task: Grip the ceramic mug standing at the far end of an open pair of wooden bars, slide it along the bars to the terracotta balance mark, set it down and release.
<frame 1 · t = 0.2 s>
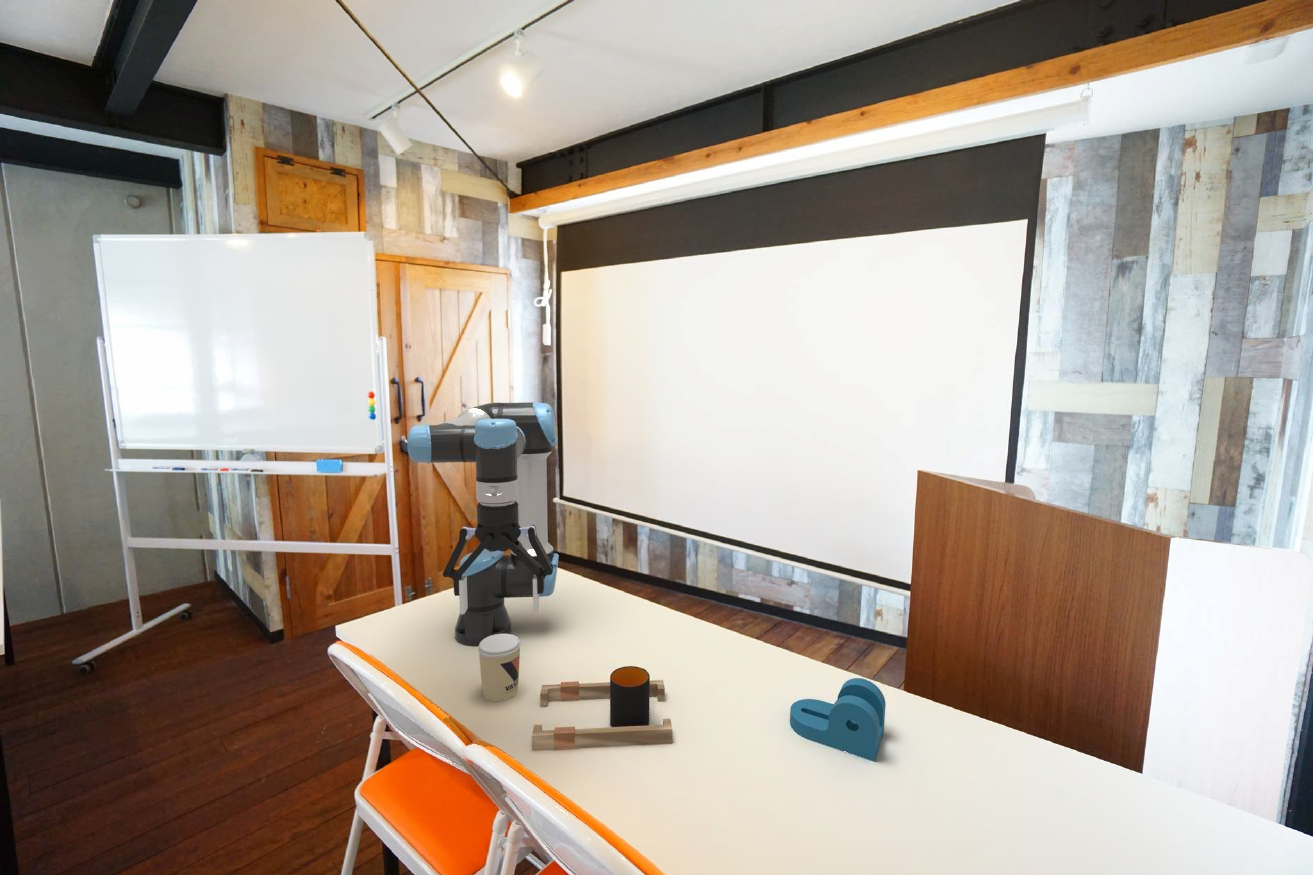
hand: (500, 610, 109), 28 cm above the table, fingers open, 13 cm apart
coffee cup: (500, 692, 131), on the table
camera mount: (833, 733, 118), on the table
pair of wooden bars: (603, 718, 121), on the table
mug: (633, 718, 122), on the table
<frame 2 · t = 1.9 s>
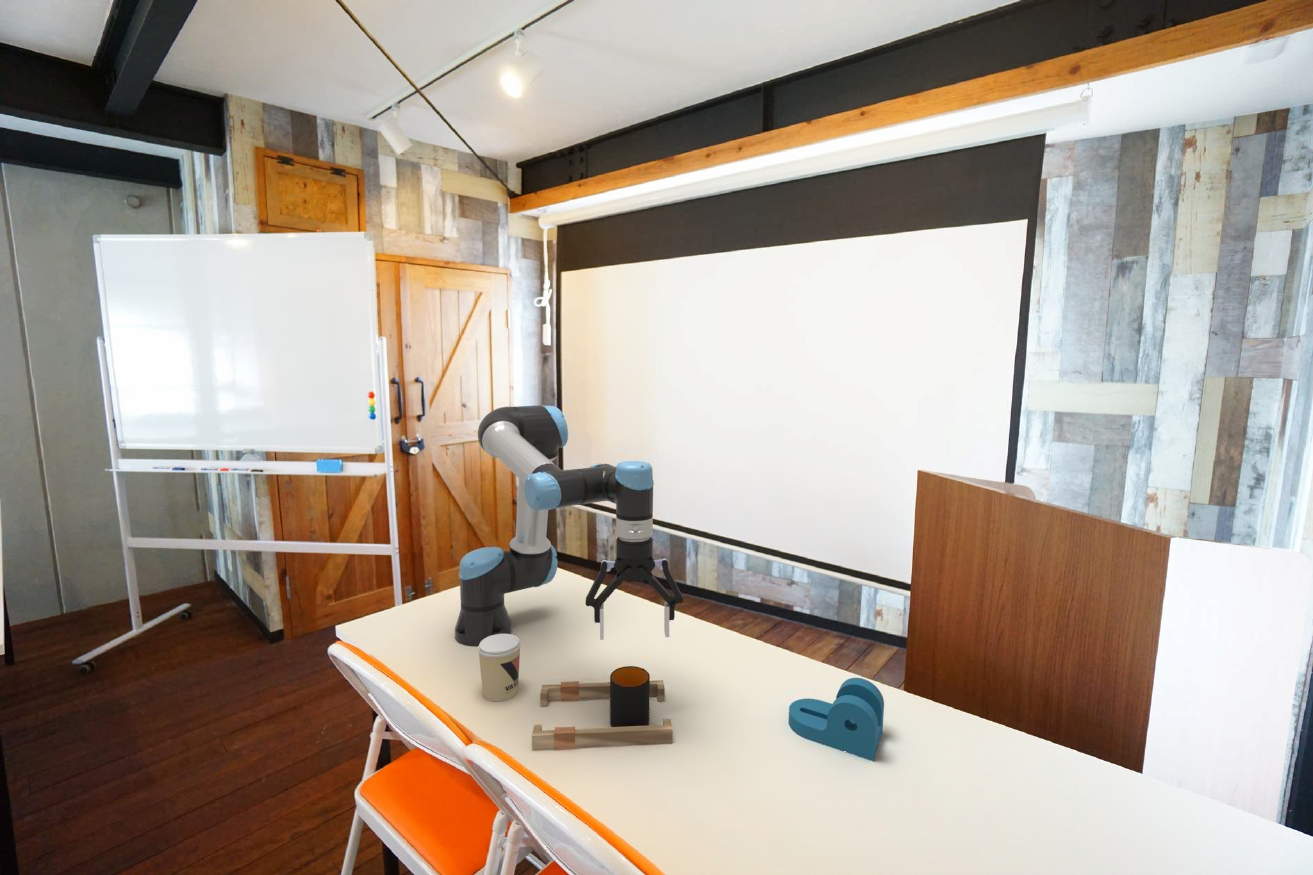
hand: (634, 635, 119), 18 cm above the table, fingers open, 13 cm apart
nothing on the table moved.
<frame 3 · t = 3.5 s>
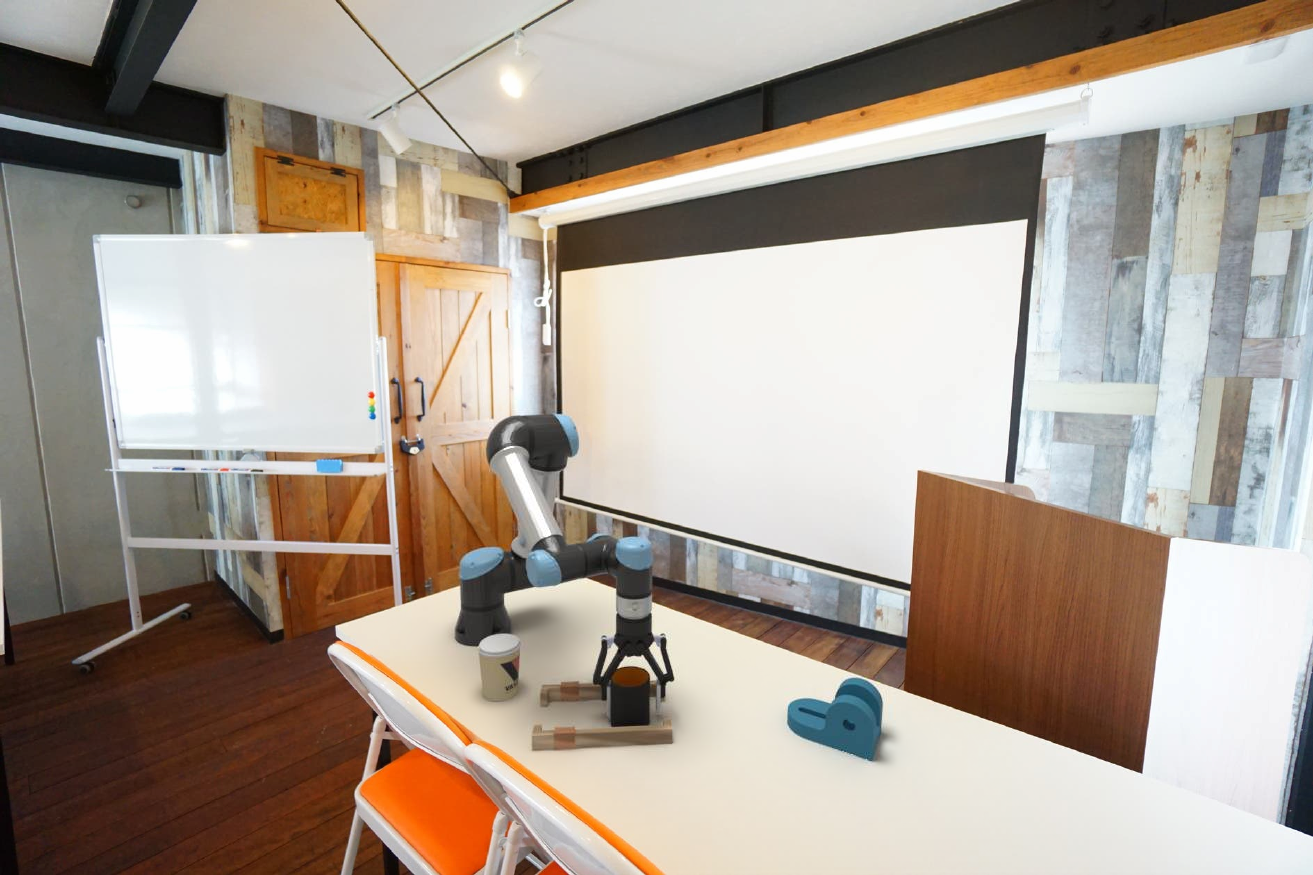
hand: (633, 712, 121), 1 cm above the table, fingers open, 10 cm apart
mug: (633, 718, 122), on the table, touching gripper
everything else where it was.
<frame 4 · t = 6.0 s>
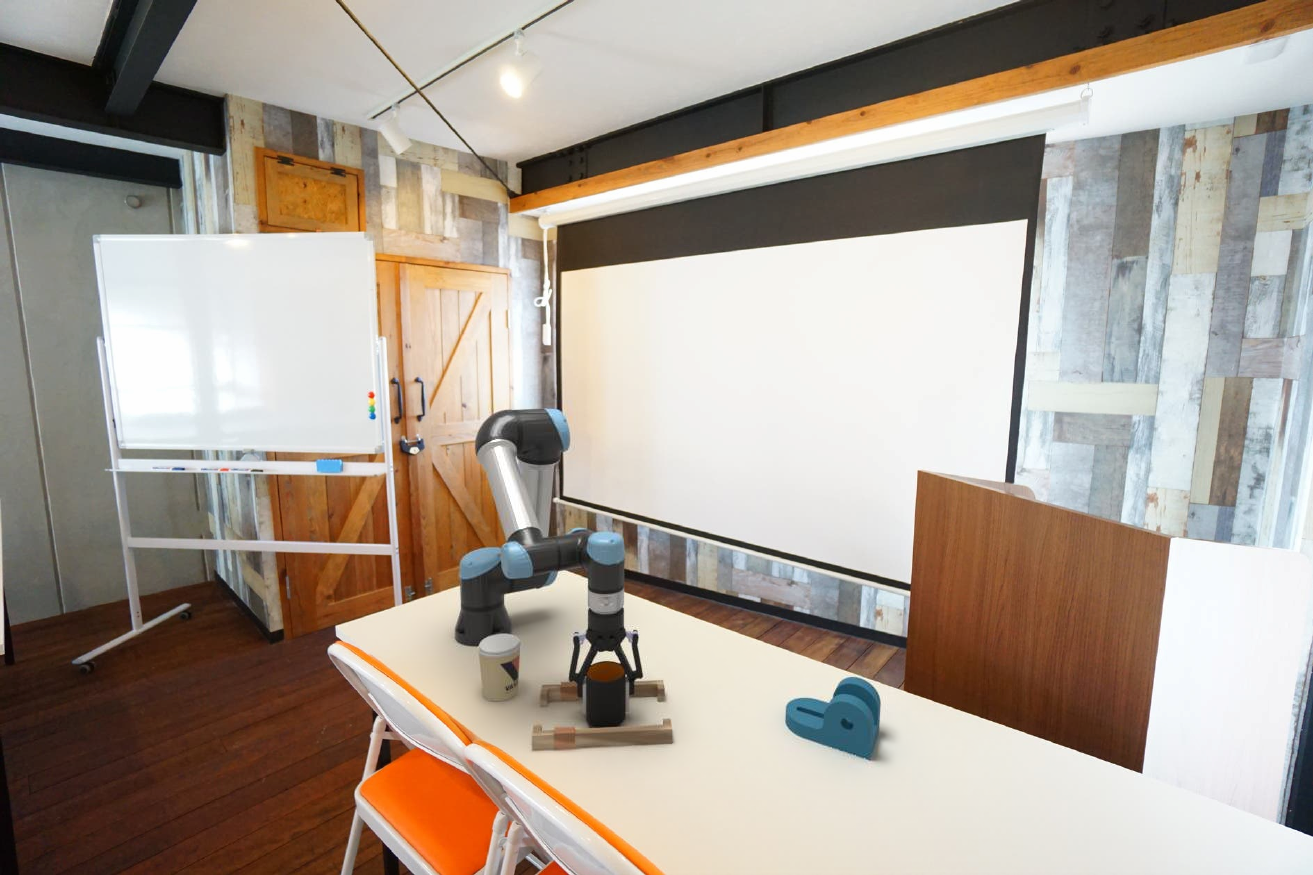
hand: (605, 708, 121), 2 cm above the table, fingers closed on mug, 8 cm apart
mug: (610, 713, 121), point 1 cm above the table, touching gripper
everything else where it was.
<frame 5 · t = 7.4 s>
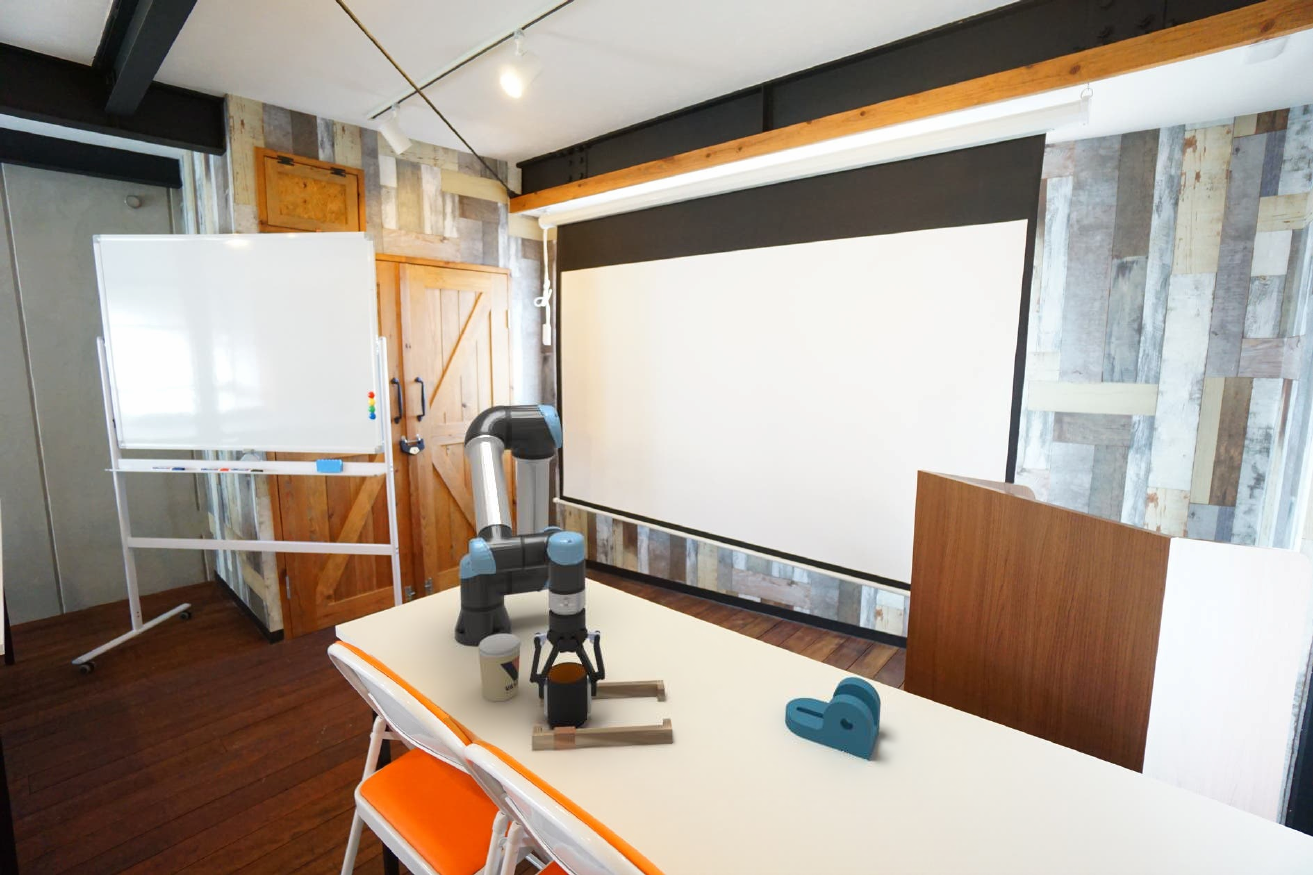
hand: (568, 710, 120), 2 cm above the table, fingers closed on mug, 8 cm apart
mug: (572, 714, 120), point 1 cm above the table, touching gripper
everything else where it was.
when the fingers open (1 cm above the table, at t = 8.2 s): mug stays where it is, on the table.
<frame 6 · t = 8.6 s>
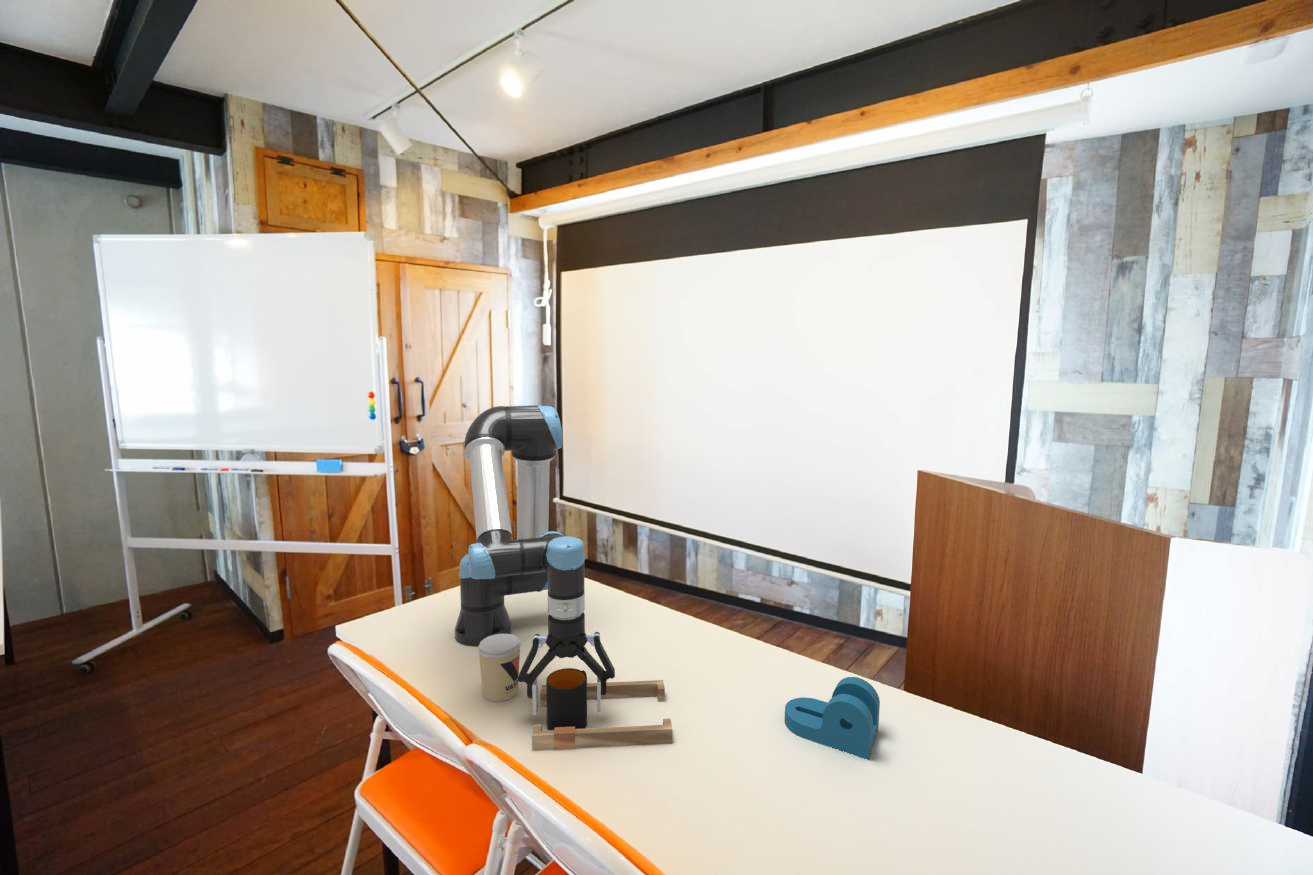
hand: (567, 709, 120), 2 cm above the table, fingers open, 13 cm apart
mug: (571, 720, 121), on the table
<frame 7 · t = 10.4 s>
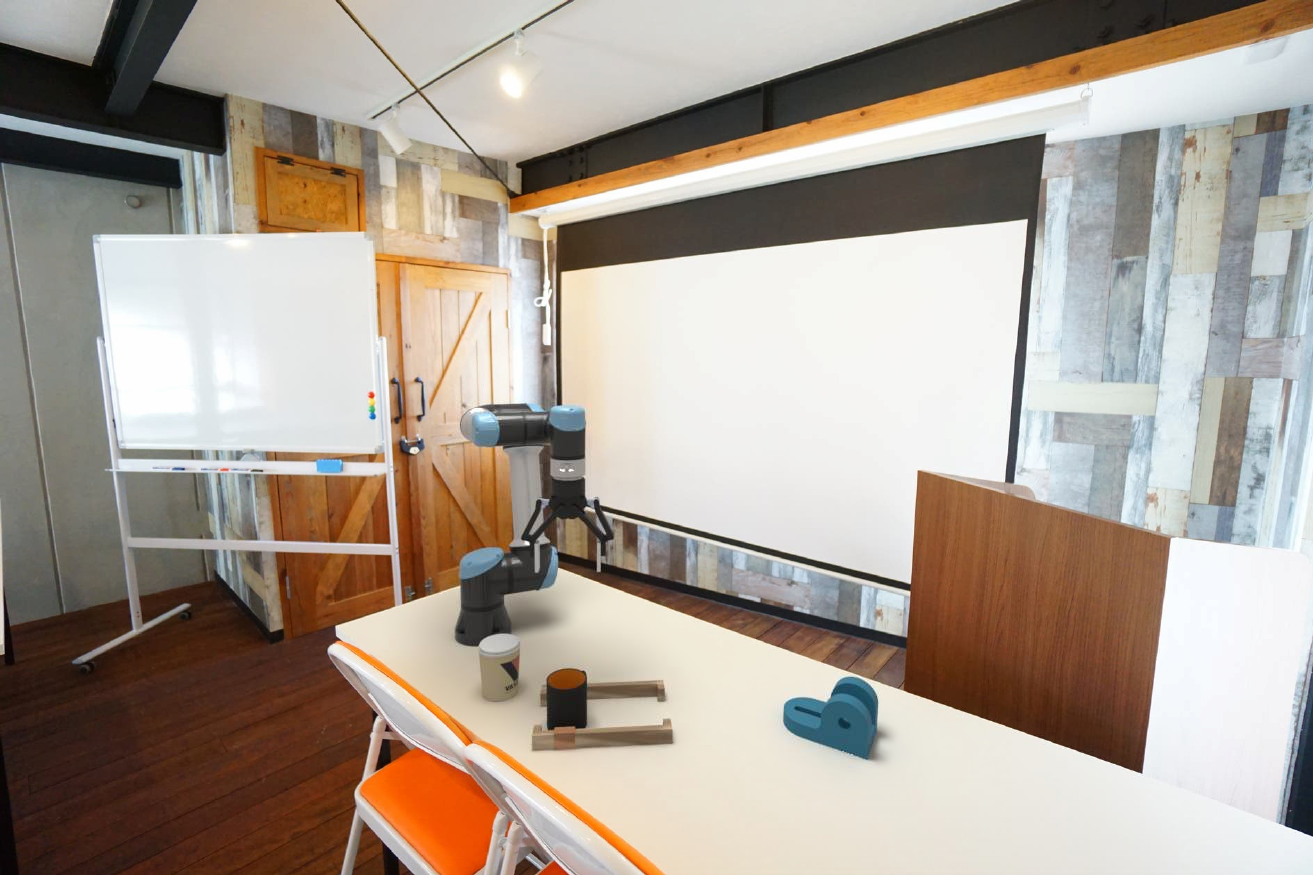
hand: (568, 570, 127), 29 cm above the table, fingers open, 13 cm apart
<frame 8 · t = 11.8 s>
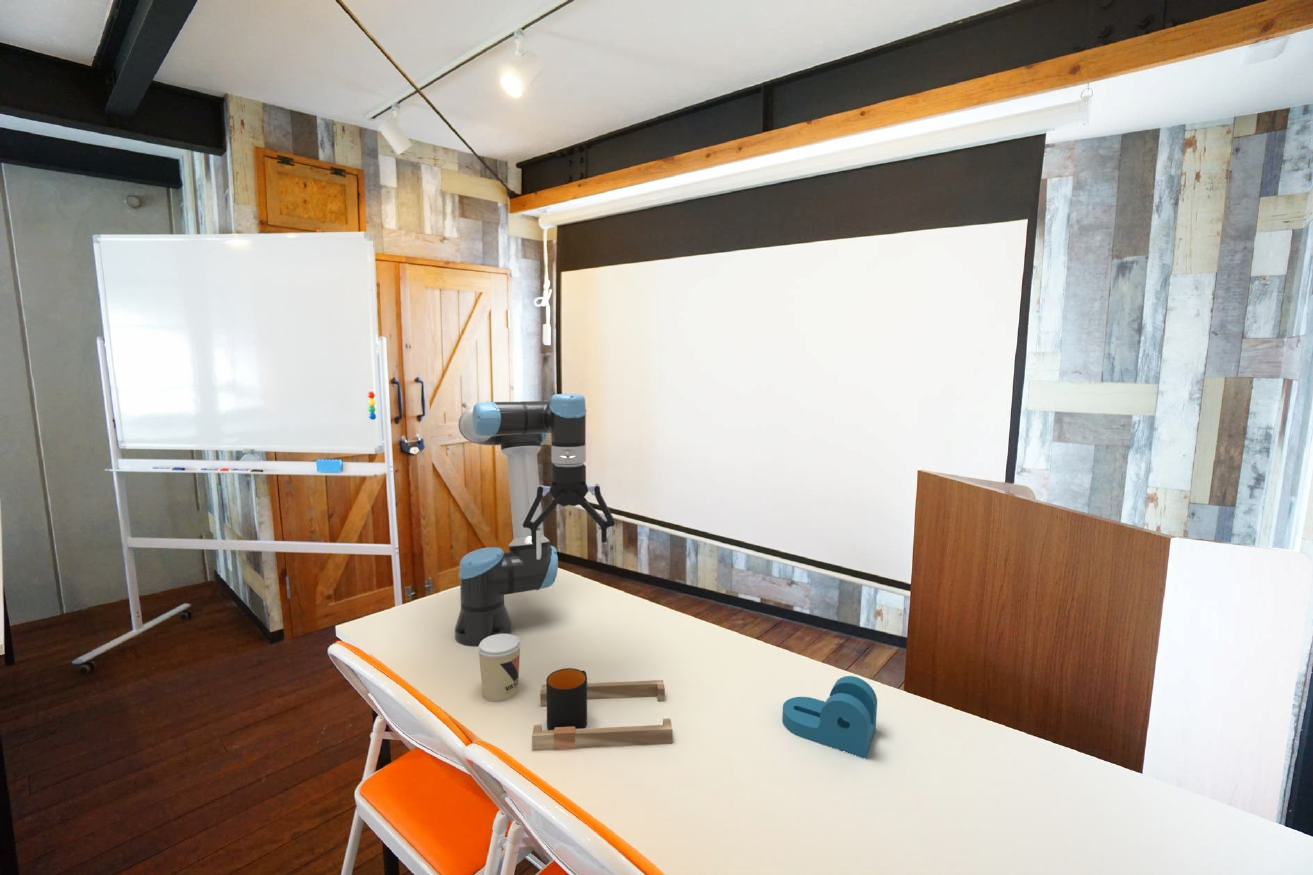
hand: (569, 556, 128), 32 cm above the table, fingers open, 13 cm apart
at the end: mug inside the target area (0.9 cm from its centre), on the table; mug tilted 0°; the gripper is holding nothing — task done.
